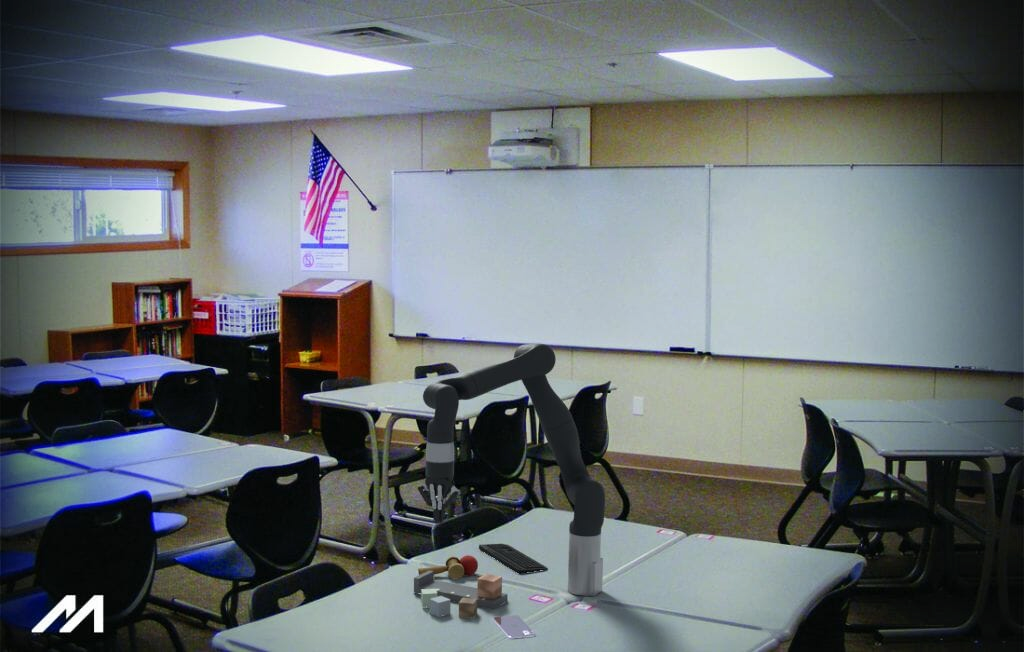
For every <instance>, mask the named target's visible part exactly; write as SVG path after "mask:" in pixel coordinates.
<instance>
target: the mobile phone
mask: <svg viewBox="0 0 1024 652" xmlns="http://www.w3.org/2000/svg"><path fill="white" fill-rule="evenodd" d="M492 622H494V624H495V625H496V626H497V628H499V629H500V630H501V632H502V631H503V632H504V633H503V632H502V633H503V634H504V635H505V637H506V638H507V639H509V640H515V639H514V638H518V639H522V638H521V637H527V636H534V635H536V636H537V634H536V632H535V631H534V630H533V629H532V628H531V627H530V626H529V625H528V624H527V623H526V622H525V621H524V619H522V618H521V616H519V615H515V614H514V615H504V616H494V617H493V618H492Z"/></svg>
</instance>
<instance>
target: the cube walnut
mask: <svg viewBox="0 0 1024 652" xmlns="http://www.w3.org/2000/svg"><path fill="white" fill-rule="evenodd" d="M477 614H478V606H477V599H474V598H462V599H461V600H460V602H458V617H459V618H468V619H469V618H470V619H474V618H475V616H476V615H477Z"/></svg>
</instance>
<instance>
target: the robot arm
mask: <svg viewBox="0 0 1024 652" xmlns="http://www.w3.org/2000/svg"><path fill="white" fill-rule="evenodd" d="M555 365H556V354H555V351H554V350H553V349H552V347H551V346H549V345H546V344H544V343H527V344H525V343H524V344H522V345H519V346H518V347H517V348H516V349H515V352H514V353H513V358H511V359H509V360H506V361H501V362H498V363H494V364H490V365H486V366H481V367H479V368H477V369H474V370H471V371H468V372H466V373H462V374H461V375H458V376H454V377H450V378H449V377H448V378H445V379H440V380H438V381H434V382H432V383H430V384H429V385H428V386H427V387H426V388H425V389H424V391H423V394H422V400H423V403H424V405H426V406H427V407H428V408H431V409H433V410H434V416H433V419H431V420H429V421H428V423H427V429H426V448H425V476H426V477H425V479H424V483H423V484H421V485H420V486H418V487H417V490H418V492H419V494H420V495H421V497H422V499H423V500H424V502H425V504H426V506H428V507H431V508H432V509H433V512H432V513H433V515H432V517H433V518H432V519H433V521H434V523H435V524H440V525H441V524H442V523H444V522H445V520H446V509H448V508H451V507H453V505H454V503H455V502H456V501H457V500H458V499H459V497H460V496H461V495H462V493H463V491H462V490H461V489H458V488H457V487H456V486H455V481H454V474H455V445H454V436H455V435H454V434H455V433H454V431H455V430H454V425H455V424H456V419H457V414H458V409H459V407H460V406H459V405H460V401H468V400H472V399H476V398H478V397H480V396H483V395H485V394H487V393H489V392H493V391H494V390H497V389H499V388H502V387H504V386H507V385H509V384H513V383H515V382H518V381H521V383H522V384H523V386H524V388H525V390H526V391H527V394H528V396H529V398H530V401H531V403H532V406H533V408H534V410H535V413H536V415H537V418H538V420H539V423H540V427H541V429H542V432H543V434H544V436H545V439H546V441H547V443H548V446H549V447H550V450H551V452H552V455H553V457H554V458H555V461H556V463H557V465H558V467H559V470H560V474H561V477H562V481H563V485H564V488H565V492H566V496H567V497H568V499H569V501H570V503H572V504H573V505H574V507H573V519H572V520H571V521H570V522H569V528H568V529H569V533H568V535H569V536H568V538H569V539H568V571H567V573H568V574H567V576H568V577H567V590H568V592H569V593H571V594H573V595H577V596H584V597H585V596H586V597H587V596H589V597H590V596H592V597H595V596H597V595H598V594H599V593H600V592H602V591H603V582H604V581H603V578H604V577H603V575H604V573H603V572H604V558H603V557H601V556H602V555H601V553H602V552H601V547H602V546H601V545H602V527H603V525H604V521H605V509H606V508H605V507H606V493H605V489H604V487H603V485H602V484H601V483H600V482H599V481H597V480H596V479H594V478H592V476H591V475H590V473H589V471H588V469H587V468H586V465H585V463H584V460H583V457H582V453H581V445H580V437H579V432H578V429H577V426H576V423H575V421H574V418H573V414H572V413H571V411H570V409H569V408H568V406H567V405H566V404H565V403H564V401H563V400H562V398H560V396H559V395H558V394H557V393H556V391H554V389H553V388H552V386H551V385H550V382H549V381H548V378H547V376H546V375H549V373H551V372H552V370H553V369H554V367H555ZM449 494H450V496H449Z"/></svg>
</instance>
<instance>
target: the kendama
mask: <svg viewBox="0 0 1024 652" xmlns="http://www.w3.org/2000/svg"><path fill="white" fill-rule="evenodd" d="M478 567H479V563H478V560H477V559H476V558H475V557H474V556H473V555H469V554H468V555H467V554H466V555H464V556H462V557H461V558H460V559H459V558H458V556H455V555H451V556H449V557H447V559H446V560H445V565H437V566H430V567H429V566H428V567H420V568H418V569H417V571H418V572H417V573H418V576H419V575H421V574H423V573H425V572H427V571H429V570H430V571H434V576H435V575H439V574H442V573H446V572H447V573H448V576H449V577H450V578H451V579H453V578H459V579H461V578H462V577H464V576H473V575H474V574H475V573H477V570H478V569H479V568H478Z"/></svg>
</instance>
